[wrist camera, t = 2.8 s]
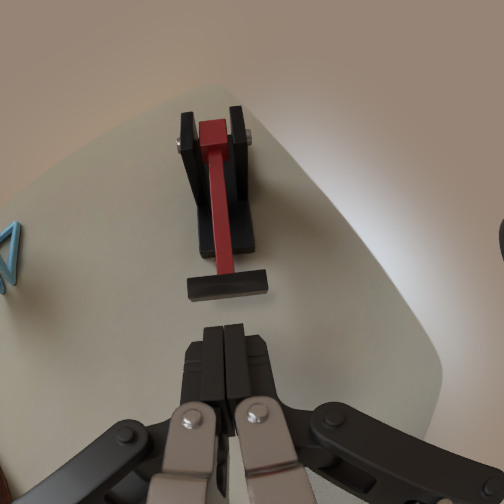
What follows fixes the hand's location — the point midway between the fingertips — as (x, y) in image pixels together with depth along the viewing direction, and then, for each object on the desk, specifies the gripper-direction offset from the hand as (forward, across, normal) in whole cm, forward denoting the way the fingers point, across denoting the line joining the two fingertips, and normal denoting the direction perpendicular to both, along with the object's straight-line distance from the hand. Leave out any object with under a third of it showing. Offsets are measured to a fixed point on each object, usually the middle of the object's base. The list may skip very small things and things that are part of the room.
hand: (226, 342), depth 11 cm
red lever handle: (+13, 0, -2) cm, 13 cm away
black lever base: (+21, 0, -1) cm, 21 cm away
